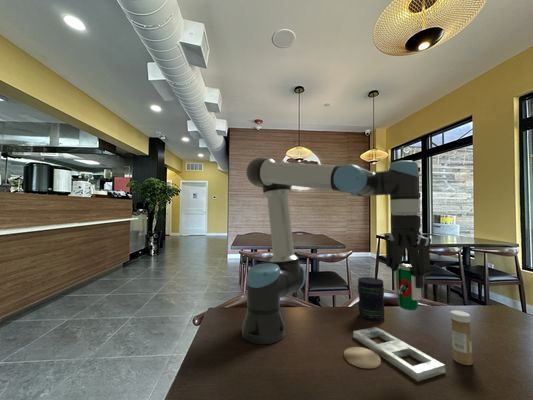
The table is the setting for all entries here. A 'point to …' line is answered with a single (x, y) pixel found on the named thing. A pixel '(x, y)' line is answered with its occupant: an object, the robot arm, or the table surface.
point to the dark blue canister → (371, 299)
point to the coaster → (362, 357)
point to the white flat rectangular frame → (400, 354)
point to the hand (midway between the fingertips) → (407, 296)
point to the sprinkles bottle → (461, 337)
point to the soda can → (405, 287)
